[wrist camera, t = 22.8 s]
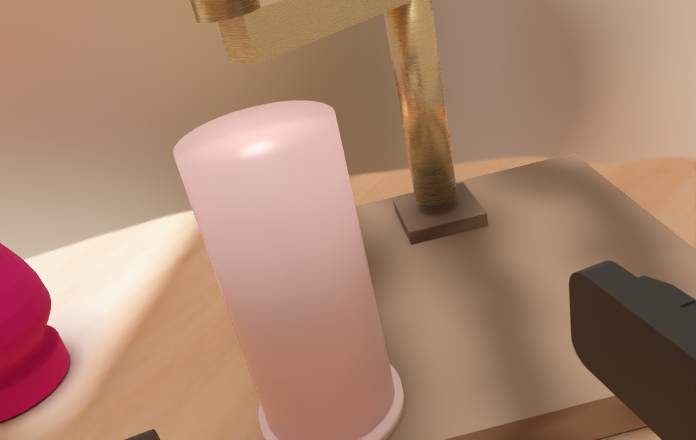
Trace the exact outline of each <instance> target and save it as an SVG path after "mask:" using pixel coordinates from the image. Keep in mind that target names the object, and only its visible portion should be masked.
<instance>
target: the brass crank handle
mask: <svg viewBox="0 0 696 440" xmlns="http://www.w3.org/2000/svg"><path fill="white" fill-rule="evenodd" d="M190 1H191V4H192V7H193V11H194V14H195V17H196V20H197V22H198V23H210V22H216V21H218V23H219V27H220V30H221V34H222V37H223V41H224V44H225V48H226V51H227V54H228V58H229V61H231V62H240V63H249V64H258V63H261V62H263V61H266V60H268V59H271V58H273V57H275V56H278V55H280V54H283V53H285V52H288V51H290V50H293V49H295V48H297V47H300V46H303V45H305V44H308V43H310V42H313V41H315V40H318V39H320V38H323V37H325V36H328V35H330V34H333V33H335V32H338V31H340V30H342V29H345V28H348V27H350V26H353V25H355V24H357V23H360V22H362V21H365V20H367V19H370V18H372V17H375V16H377V15H380V14H382V13H384V16H385V22H386V28H387V34H388V40H389V46H390V52H391V58H392V64H393V70H394V76H395V82H396V88H397V94H398V100H399V105H400V112H401V118H402V124H403V130H404V136H405V141H406V148H407V154H408V160H409V166H410V172H411V178H412V184H413V190H414V195H415V200H416V201H417V202H418V203H420V204H423V205H439V204H443V203H446V202H449V201H451V200H452V199H454V198H455V197H456V195H457V188H456V181H455V173H454V166H453V158H452V151H451V144H450V136H449V128H448V121H447V113H446V106H445V98H444V91H443V83H442V76H441V68H440V61H439V53H438V46H437V38H436V31H435V23H434V16H433V9H432V1H431V0H190Z"/></svg>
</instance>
